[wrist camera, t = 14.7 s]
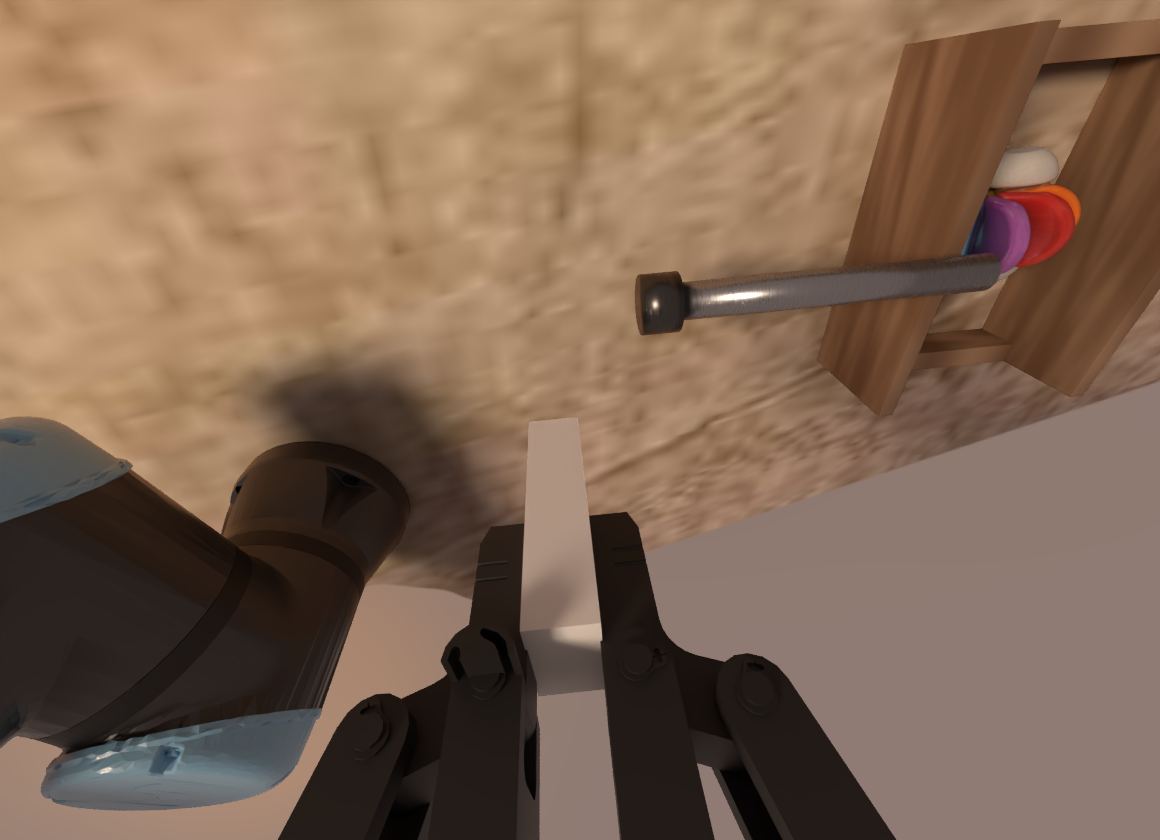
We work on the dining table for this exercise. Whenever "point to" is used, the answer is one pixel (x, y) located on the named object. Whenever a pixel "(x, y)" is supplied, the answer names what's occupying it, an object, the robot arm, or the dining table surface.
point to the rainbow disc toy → (1024, 211)
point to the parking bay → (957, 191)
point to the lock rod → (805, 289)
